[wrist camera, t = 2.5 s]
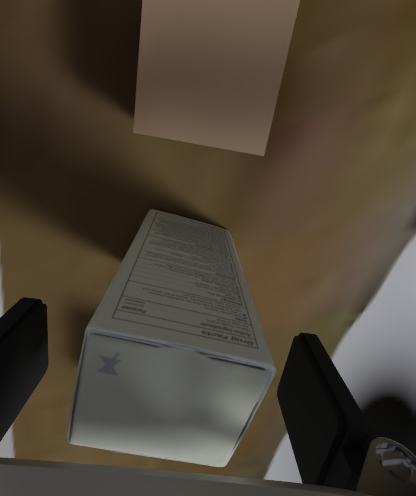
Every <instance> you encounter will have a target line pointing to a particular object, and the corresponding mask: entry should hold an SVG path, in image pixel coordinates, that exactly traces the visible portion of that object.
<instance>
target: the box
mask: <svg viewBox="0 0 416 496" xmlns="http://www.w3.org/2000/svg"><path fill="white" fill-rule="evenodd" d="M275 375H276V368H275V365H274V362H273V359H272V357H271V354H270V351H269V348H268V346H267V343H266V340H265V337H264V334H263V331H262V328H261V325H260V322H259V319H258V316H257V313H256V310H255V306H254V303H253V301H252V298H251V294H250V291H249V289H248V285H247V282H246V279H245V276H244V273H243V271H242V268H241V265H240V262H239V259H238V255H237V253H236V249H235V246H234V243H233V240H232V237H231V234H230V232H229V231H228V230H226V229H223V228H220V227H217V226H214V225H210V224H207V223H204V222H200V221H196V220H193V219H189V218H185V217H182V216H178V215H174V214H170V213H166V212H162V211H158V210H154V209H150V210H149V211H148V213H147V215H146V217H145V219H144V221H143V223H142V225H141V227H140V229H139V231H138V233H137V235H136V236H135V238H134V240H133V242H132V244H131V246H130V248H129V250H128V251H127V253H126V255H125V257H124V259H123V261H122V263H121V265H120V267H119V268H118V270H117V272H116V274H115V276H114V278H113V280H112V282H111V283H110V285H109V287H108V289H107V291H106V293H105V295H104V297H103V299H102V300H101V302H100V304H99V306H98V308H97V309H96V311H95V313H94V315H93V317H92V318H91V320H90V322H89V324H88V326H87V327H86V330H85V334H84V340H83V345H82V350H81V354H80V359H79V364H78V369H77V375H76V380H75V386H74V392H73V397H72V404H71V411H70V418H69V428H68V433H67V440H68V442H69V443H70V444H74V445H80V446H87V447H94V448H100V449H106V450H112V451H118V452H125V453H130V454H137V455H143V456H149V457H156V458H162V459H169V460H176V461H183V462H189V463H196V464H203V465H209V466H216V467H224V466H225V465H226V464H227V463H228V461H229V460H230V458H231V456H232V455H233V453H234V451H235V449H236V447H237V445H238V444H239V442H240V440H241V438H242V437H243V435H244V433H245V431H246V429H247V428H248V426H249V424H250V422H251V420H252V418H253V416H254V415H255V413H256V411H257V409H258V407H259V405H260V404H261V402H262V400H263V398H264V396H265V394H266V392H267V390H268V388H269V386H270V384H271V382H272V381H273V379H274V377H275Z"/></svg>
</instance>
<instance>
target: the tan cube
mask: <svg viewBox="0 0 416 496" xmlns="http://www.w3.org/2000/svg"><path fill="white" fill-rule="evenodd" d="M299 2H300V0H142V14H141V29H140V43H139V57H138V72H137V86H136V100H135V114H134V129H133V133H137V134H143V135H149V136H154V137H160V138H165V139H171V140H177V141H182V142H188V143H193V144H199V145H205V146H210V147H216V148H221V149H227V150H233V151H238V152H244V153H249V154H255V155H261V156H264V154H265V149H266V145H267V141H268V136H269V132H270V128H271V123H272V119H273V115H274V110H275V106H276V102H277V97H278V93H279V89H280V84H281V80H282V76H283V71H284V67H285V63H286V59H287V54H288V50H289V46H290V41H291V37H292V33H293V28H294V24H295V20H296V15H297V11H298V7H299Z"/></svg>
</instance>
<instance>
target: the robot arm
mask: <svg viewBox="0 0 416 496" xmlns="http://www.w3.org/2000/svg"><path fill="white" fill-rule="evenodd" d="M47 367H48V331H47V306H46V304H43V303H42V300H40V299H34V298H26V297H24V298H22V299H20V300H19V301H18V302H17V303H16V304H15V305H14V306H13V307H11V308H10V309H9V310H8V311H7V312H6V313H5V314H4V315H3V316H2V317H1V318H0V441H1V440H2V438H3V437H4V435H5V434H6V432H7V431H8V429H9V428H10V426H11V425H12V423H13V422H14V420H15V418H16V417H17V415H18V414H19V412H20V411H21V409H22V408H23V406H24V405H25V403H26V402H27V400H28V399H29V397H30V396H31V394H32V392H33V391H34V389H35V388H36V386H37V385H38V383H39V382H40V380H41V379H42V377H43V376H44V374H45V372H46V370H47ZM277 397H278V401H279V404H280V408H281V411H282V415H283V418H284V421H285V425H286V428H287V432H288V435H289V438H290V442H291V445H292V449H293V452H294V455H295V459H296V462H297V466H298V469H299V473H300V476H301V479H302V483H303V484H301V483H292V482H283V481H273V480H263V479H252V478H241V477H230V476H220V475H209V474H198V473H186V472H175V471H163V470H152V469H140V468H128V467H117V466H105V465H92V464H80V463H67V462H55V461H42V460H30V459H16V458H0V496H416V457H415V456H414V455H413V454H412V453H411V452H410V451H409V450H408V449H406V448H405V447H404V446H402V445H401V444H399V443H397V442H395V441H393V440H390V439H387V438H377V437H376V436H375V434H374V432H373V431H372V429H371V427H370V425H369V424H368V422H367V420H366V419H365V417H364V415H363V413H362V412H361V410H360V408H359V407H358V405H357V403H356V401H355V400H354V398H353V396H352V395H351V393H350V391H349V389H348V388H347V386H346V384H345V383H344V381H343V379H342V377H341V376H340V374H339V373H338V371H337V369H336V367H335V366H334V364H333V362H332V360H331V359H330V357H329V355H328V354H327V352H326V350H325V348H324V347H323V345H322V343H321V342H320V340H319V338H318V336H317V335H315V334H309V333H300V334H299V336H295V337H294V339H293V342H292V345H291V348H290V352H289V355H288V358H287V361H286V364H285V367H284V370H283V373H282V377H281V380H280V383H279V386H278V390H277Z"/></svg>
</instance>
